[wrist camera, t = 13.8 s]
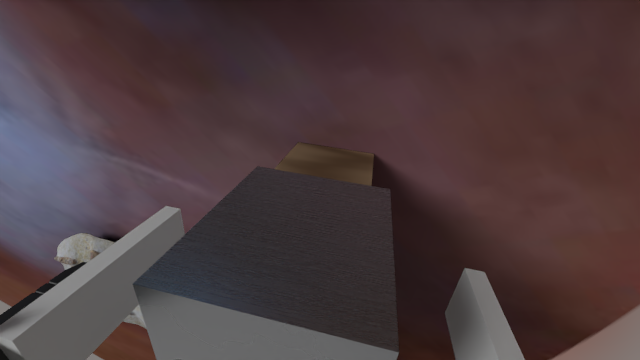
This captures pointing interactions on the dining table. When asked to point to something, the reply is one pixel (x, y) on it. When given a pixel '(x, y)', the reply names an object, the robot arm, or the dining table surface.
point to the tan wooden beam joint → (329, 163)
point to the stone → (85, 250)
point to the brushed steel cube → (279, 275)
